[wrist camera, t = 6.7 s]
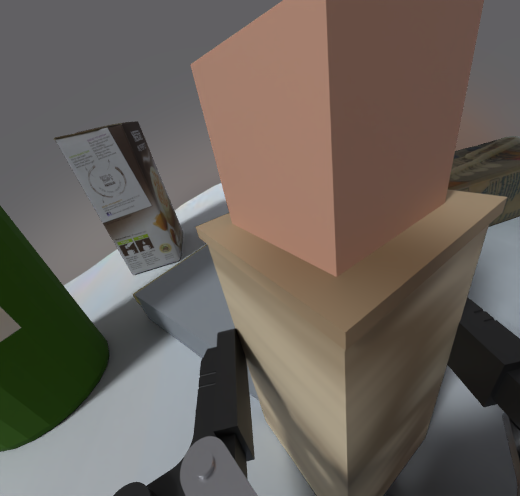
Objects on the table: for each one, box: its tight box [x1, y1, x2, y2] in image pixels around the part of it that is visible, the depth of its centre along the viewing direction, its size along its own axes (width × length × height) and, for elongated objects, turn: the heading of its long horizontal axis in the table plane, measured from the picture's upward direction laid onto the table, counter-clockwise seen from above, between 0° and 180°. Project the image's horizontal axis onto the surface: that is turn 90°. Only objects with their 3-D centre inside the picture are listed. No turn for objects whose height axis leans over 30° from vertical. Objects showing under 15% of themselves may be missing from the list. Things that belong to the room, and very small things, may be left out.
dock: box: [133, 244, 259, 400], centre depth 23 cm, size 14×14×3 cm
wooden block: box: [196, 190, 507, 496], centre depth 10 cm, size 6×6×12 cm
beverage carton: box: [447, 136, 520, 227], centre depth 26 cm, size 8×19×7 cm, turn 105°
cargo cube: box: [191, 0, 484, 277], centre depth 6 cm, size 4×4×4 cm
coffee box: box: [54, 122, 183, 274], centre depth 31 cm, size 9×6×16 cm
